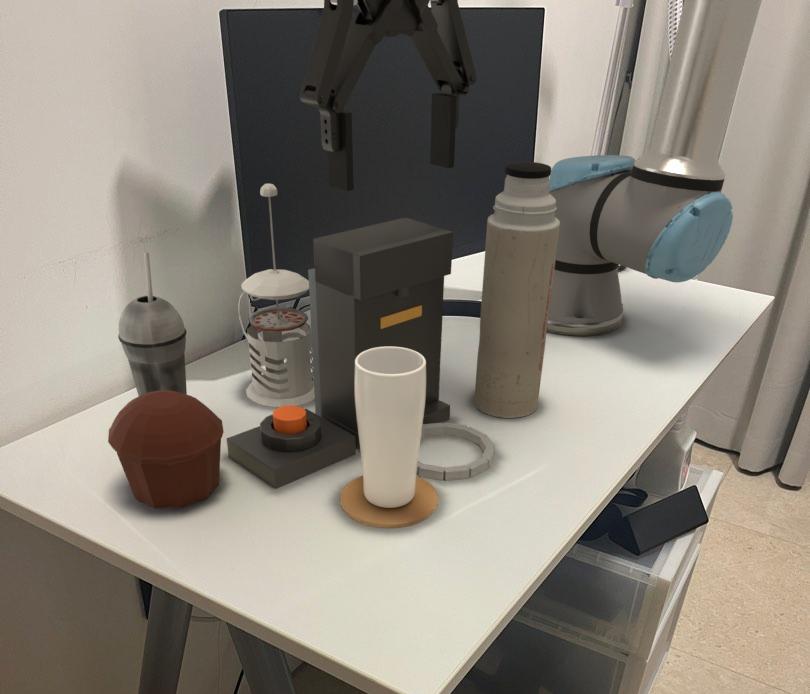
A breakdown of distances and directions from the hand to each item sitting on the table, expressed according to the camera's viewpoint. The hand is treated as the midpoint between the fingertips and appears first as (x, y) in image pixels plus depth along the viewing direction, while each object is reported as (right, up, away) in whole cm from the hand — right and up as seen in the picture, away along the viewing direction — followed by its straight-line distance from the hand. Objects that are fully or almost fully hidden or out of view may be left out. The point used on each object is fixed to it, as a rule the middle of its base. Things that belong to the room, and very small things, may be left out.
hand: (394, 176), depth 82 cm
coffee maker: (+2, -24, +15) cm, 28 cm away
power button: (-11, -24, +9) cm, 28 cm away
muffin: (-23, -30, +6) cm, 39 cm away
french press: (-15, -17, +25) cm, 33 cm away
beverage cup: (-27, -23, +16) cm, 39 cm away
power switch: (-11, -27, +11) cm, 31 cm away
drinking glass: (-1, -32, +4) cm, 32 cm away
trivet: (-1, -32, +4) cm, 32 cm away
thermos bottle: (+14, -19, +23) cm, 32 cm away
